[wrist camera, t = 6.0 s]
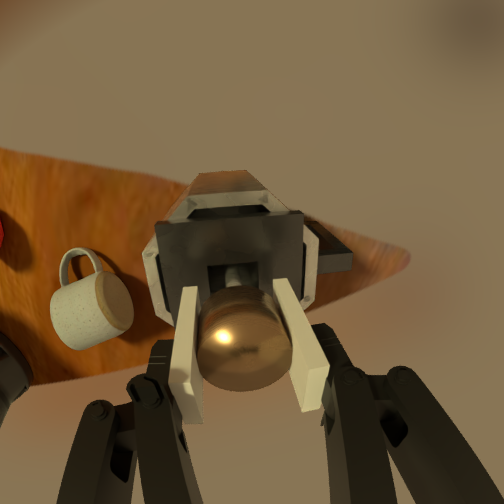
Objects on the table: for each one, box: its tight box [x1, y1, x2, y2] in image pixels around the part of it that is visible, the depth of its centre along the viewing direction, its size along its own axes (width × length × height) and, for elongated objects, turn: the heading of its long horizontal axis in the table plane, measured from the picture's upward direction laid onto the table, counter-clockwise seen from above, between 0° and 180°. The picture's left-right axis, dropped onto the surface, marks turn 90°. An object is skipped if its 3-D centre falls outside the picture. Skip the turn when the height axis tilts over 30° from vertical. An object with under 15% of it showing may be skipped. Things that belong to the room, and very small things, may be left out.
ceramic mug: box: [50, 248, 134, 350], centre depth 26 cm, size 11×8×8 cm
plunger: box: [190, 204, 293, 392], centre depth 19 cm, size 8×8×18 cm
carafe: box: [142, 170, 353, 332], centre depth 23 cm, size 14×11×13 cm
